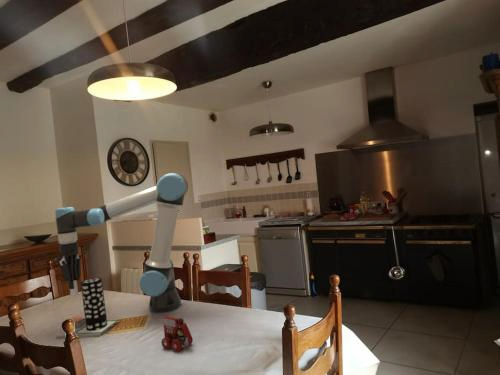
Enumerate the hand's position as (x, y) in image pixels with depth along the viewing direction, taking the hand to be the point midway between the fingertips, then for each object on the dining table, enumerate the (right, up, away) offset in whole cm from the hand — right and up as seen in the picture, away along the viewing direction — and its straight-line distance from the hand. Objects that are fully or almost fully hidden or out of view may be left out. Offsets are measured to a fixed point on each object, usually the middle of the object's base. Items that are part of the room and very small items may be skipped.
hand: (74, 295), depth 161 cm
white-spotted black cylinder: (+12, -12, -5) cm, 18 cm away
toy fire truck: (+52, -9, -31) cm, 61 cm away
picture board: (+8, -14, -4) cm, 16 cm away
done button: (+1, -12, 0) cm, 12 cm away
